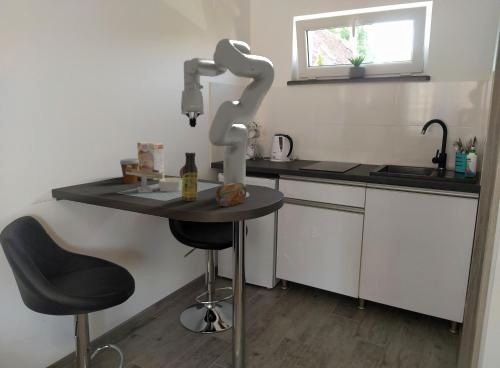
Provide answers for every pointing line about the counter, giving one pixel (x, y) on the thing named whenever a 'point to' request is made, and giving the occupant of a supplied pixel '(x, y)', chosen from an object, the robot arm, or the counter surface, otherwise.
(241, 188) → the sandwich
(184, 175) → the sauce bottle
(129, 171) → the birch lever
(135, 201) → the counter surface
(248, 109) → the robot arm
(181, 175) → the onion
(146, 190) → the lever stand
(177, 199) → the counter surface
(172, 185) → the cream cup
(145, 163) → the coffeecake box
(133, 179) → the brown food tub
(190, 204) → the counter surface
